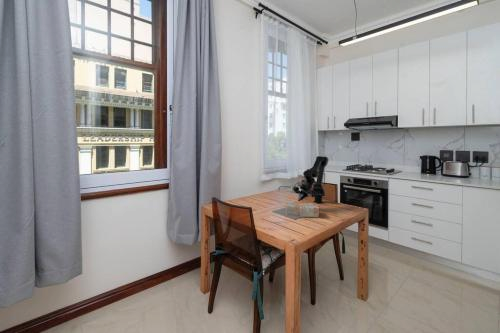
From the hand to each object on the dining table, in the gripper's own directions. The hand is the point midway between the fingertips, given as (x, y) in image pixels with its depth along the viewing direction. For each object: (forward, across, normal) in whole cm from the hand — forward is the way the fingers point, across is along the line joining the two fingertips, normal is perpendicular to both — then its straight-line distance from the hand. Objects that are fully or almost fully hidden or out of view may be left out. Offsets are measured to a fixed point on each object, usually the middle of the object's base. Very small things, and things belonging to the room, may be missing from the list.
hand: (298, 200), depth 176 cm
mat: (+12, 0, -1) cm, 12 cm away
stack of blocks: (+3, +2, +3) cm, 5 cm away
